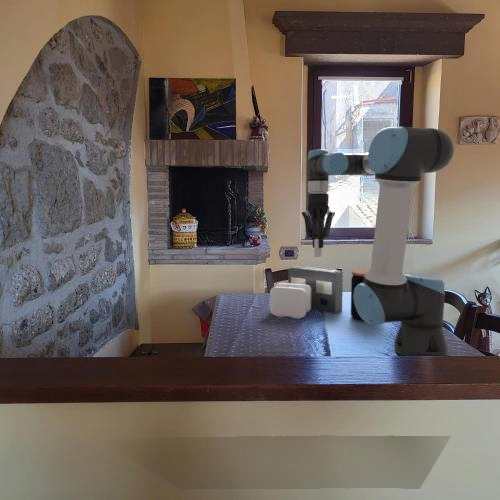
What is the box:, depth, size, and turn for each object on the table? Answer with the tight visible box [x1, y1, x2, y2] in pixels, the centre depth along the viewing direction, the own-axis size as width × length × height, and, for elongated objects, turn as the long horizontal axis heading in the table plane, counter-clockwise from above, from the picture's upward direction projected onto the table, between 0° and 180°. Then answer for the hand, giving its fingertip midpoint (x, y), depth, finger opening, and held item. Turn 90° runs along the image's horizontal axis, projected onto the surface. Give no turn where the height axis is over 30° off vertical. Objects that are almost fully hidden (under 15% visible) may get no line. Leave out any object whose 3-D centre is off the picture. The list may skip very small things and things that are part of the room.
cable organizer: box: [269, 282, 311, 319], centre depth 175 cm, size 15×11×12 cm
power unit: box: [287, 265, 344, 314], centre depth 184 cm, size 6×22×16 cm, turn 52°
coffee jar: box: [350, 268, 371, 323], centre depth 169 cm, size 11×11×18 cm
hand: (317, 256), depth 167 cm, fingers closed
